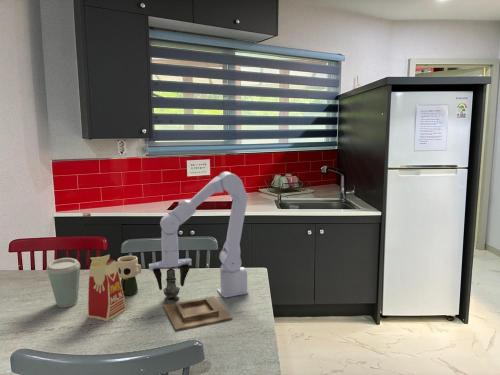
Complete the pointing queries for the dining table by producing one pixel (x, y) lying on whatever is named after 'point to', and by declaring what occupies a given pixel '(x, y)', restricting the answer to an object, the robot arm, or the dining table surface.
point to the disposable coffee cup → (64, 280)
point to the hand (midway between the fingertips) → (171, 287)
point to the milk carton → (104, 289)
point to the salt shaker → (171, 287)
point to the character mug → (128, 273)
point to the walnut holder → (196, 313)
